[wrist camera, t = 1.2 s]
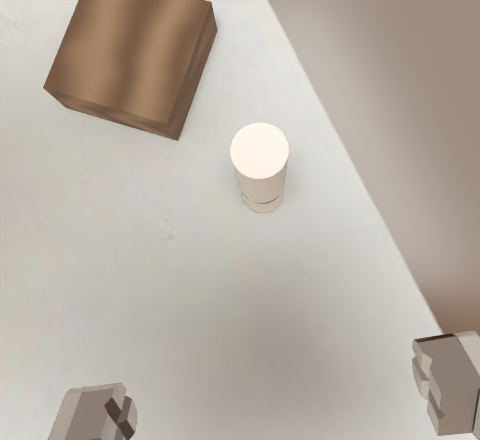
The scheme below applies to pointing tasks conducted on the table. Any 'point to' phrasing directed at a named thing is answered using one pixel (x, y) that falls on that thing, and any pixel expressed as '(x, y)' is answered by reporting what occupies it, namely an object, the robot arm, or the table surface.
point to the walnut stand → (134, 61)
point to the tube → (260, 165)
